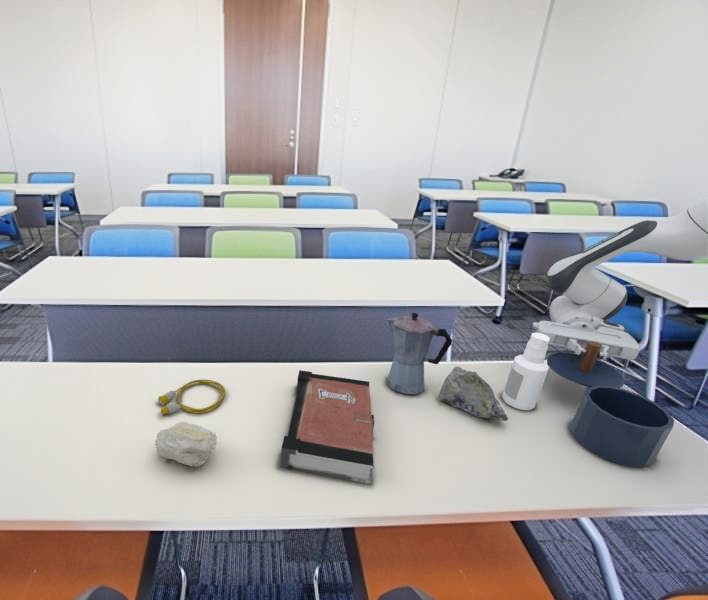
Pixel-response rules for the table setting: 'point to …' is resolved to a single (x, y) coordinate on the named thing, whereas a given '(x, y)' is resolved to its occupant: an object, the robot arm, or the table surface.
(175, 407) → the extension cord
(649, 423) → the pot
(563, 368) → the lid
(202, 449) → the white rock
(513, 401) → the spray bottle
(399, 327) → the moka pot
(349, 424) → the book
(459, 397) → the mineral rock
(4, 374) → the table surface
